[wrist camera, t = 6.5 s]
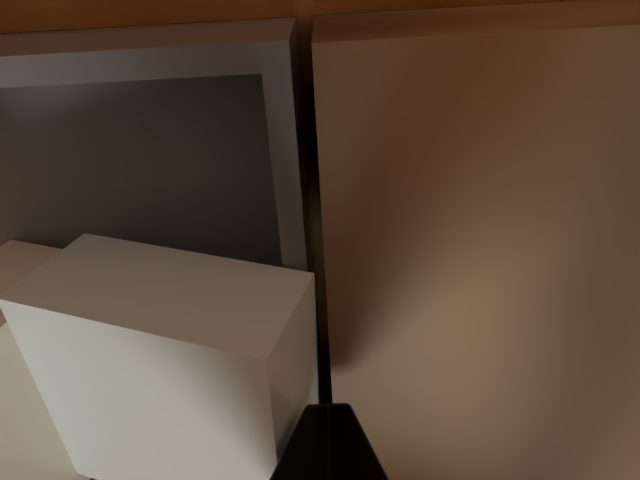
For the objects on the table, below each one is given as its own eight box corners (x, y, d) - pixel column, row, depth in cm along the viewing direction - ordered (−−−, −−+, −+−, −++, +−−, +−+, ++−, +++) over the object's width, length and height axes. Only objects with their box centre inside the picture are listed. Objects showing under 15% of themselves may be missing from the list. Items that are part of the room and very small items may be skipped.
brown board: (997, -24, 8) (1240, -9, 6) (724, 450, 14) (795, 541, 12) (313, 14, 8) (311, 43, 6) (338, 463, 15) (341, 553, 12)
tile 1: (314, 273, 8) (266, 360, 7) (320, 446, 11) (285, 541, 9) (85, 233, 9) (-4, 298, 8) (136, 397, 12) (77, 473, 10)
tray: (296, 16, 8) (288, 40, 6) (328, 463, 15) (329, 542, 13) (-339, 53, 9) (-521, 86, 7) (-42, 476, 15) (-95, 554, 13)
